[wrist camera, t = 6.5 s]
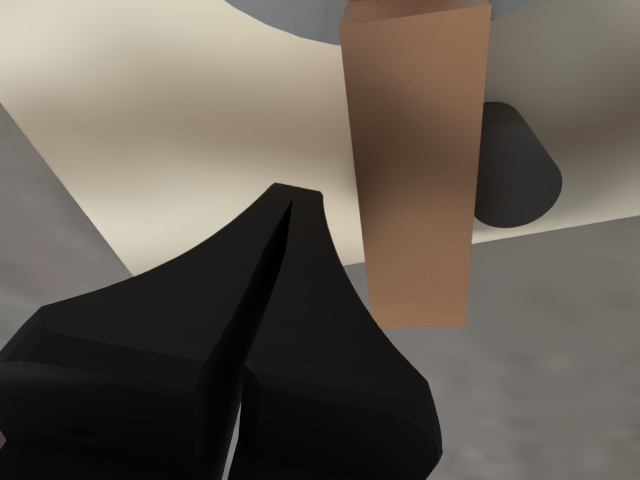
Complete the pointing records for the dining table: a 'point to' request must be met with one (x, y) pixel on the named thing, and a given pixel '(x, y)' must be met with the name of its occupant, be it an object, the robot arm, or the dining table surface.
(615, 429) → the dining table surface
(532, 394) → the dining table surface
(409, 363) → the robot arm
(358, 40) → the grey and orange-brown pieces
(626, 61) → the base board
